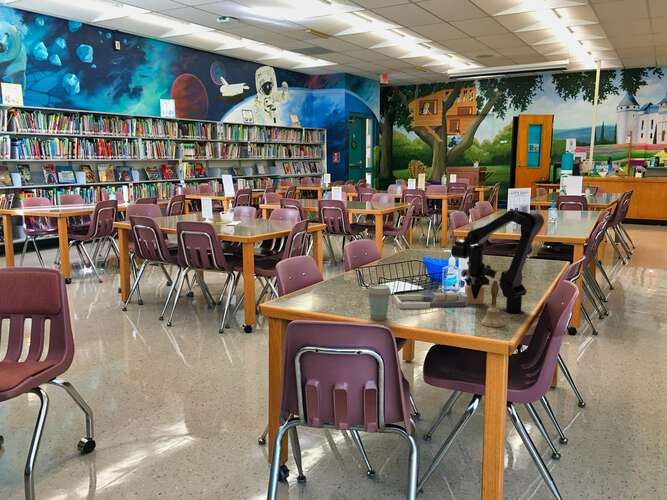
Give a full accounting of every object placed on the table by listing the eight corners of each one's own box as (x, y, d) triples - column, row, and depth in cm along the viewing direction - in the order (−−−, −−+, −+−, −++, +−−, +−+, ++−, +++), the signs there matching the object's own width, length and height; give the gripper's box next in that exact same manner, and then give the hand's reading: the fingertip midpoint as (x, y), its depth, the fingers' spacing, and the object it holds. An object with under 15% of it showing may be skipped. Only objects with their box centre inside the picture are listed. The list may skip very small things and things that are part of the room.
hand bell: (486, 319, 216) (488, 277, 214) (508, 323, 211) (510, 280, 208) (476, 324, 210) (478, 281, 207) (498, 328, 205) (501, 284, 202)
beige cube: (456, 304, 238) (457, 295, 237) (447, 304, 237) (447, 295, 237) (454, 302, 242) (454, 292, 241) (444, 302, 241) (445, 292, 241)
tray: (429, 308, 232) (429, 303, 231) (399, 308, 231) (399, 303, 230) (421, 299, 246) (421, 294, 245) (393, 299, 245) (393, 294, 244)
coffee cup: (388, 314, 222) (389, 284, 220) (391, 321, 213) (392, 289, 211) (366, 314, 221) (366, 284, 219) (368, 321, 213) (368, 289, 211)
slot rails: (465, 306, 234) (465, 302, 234) (428, 307, 233) (428, 302, 233) (457, 299, 245) (457, 295, 245) (422, 300, 244) (422, 296, 244)
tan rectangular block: (484, 304, 238) (485, 287, 236) (463, 304, 237) (464, 288, 236) (479, 300, 243) (480, 284, 242) (459, 301, 243) (459, 284, 242)
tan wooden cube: (444, 304, 237) (445, 295, 237) (435, 304, 237) (435, 295, 236) (442, 302, 241) (442, 292, 241) (432, 302, 241) (433, 293, 240)
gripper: (503, 264, 229) (501, 303, 231) (487, 256, 247) (485, 292, 250) (475, 264, 228) (473, 303, 230) (461, 256, 246) (460, 292, 249)
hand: (474, 297), depth 240 cm, fingers closed on tan rectangular block, 3 cm apart
